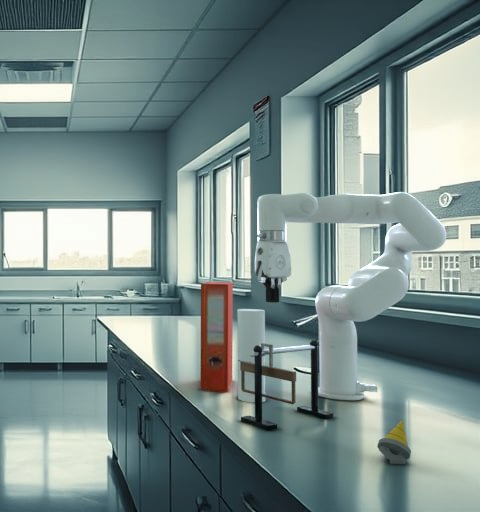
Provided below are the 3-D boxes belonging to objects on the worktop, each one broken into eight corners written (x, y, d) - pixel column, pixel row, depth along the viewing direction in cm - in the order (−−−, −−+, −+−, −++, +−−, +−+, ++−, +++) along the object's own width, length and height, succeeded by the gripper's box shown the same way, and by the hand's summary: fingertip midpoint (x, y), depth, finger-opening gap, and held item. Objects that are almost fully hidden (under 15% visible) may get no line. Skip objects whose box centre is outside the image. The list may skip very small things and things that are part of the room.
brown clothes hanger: (243, 390, 137) (243, 340, 137) (296, 404, 124) (296, 348, 124) (240, 391, 137) (239, 340, 137) (293, 405, 123) (292, 348, 123)
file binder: (233, 381, 177) (232, 282, 178) (228, 392, 161) (228, 284, 162) (207, 378, 180) (206, 282, 181) (200, 390, 165) (199, 283, 165)
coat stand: (304, 410, 142) (303, 337, 142) (333, 417, 135) (332, 341, 135) (240, 421, 132) (240, 343, 132) (268, 430, 124) (267, 348, 125)
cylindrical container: (267, 403, 149) (267, 311, 150) (240, 401, 151) (239, 310, 151) (262, 396, 156) (261, 309, 157) (236, 395, 158) (235, 308, 158)
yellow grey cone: (368, 460, 107) (382, 418, 112) (398, 475, 105) (410, 432, 110) (380, 451, 103) (393, 408, 107) (412, 467, 101) (423, 422, 105)
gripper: (264, 236, 149) (264, 304, 149) (301, 237, 156) (301, 302, 156) (242, 237, 156) (243, 302, 156) (278, 238, 163) (279, 300, 162)
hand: (272, 302), depth 156 cm, fingers closed
